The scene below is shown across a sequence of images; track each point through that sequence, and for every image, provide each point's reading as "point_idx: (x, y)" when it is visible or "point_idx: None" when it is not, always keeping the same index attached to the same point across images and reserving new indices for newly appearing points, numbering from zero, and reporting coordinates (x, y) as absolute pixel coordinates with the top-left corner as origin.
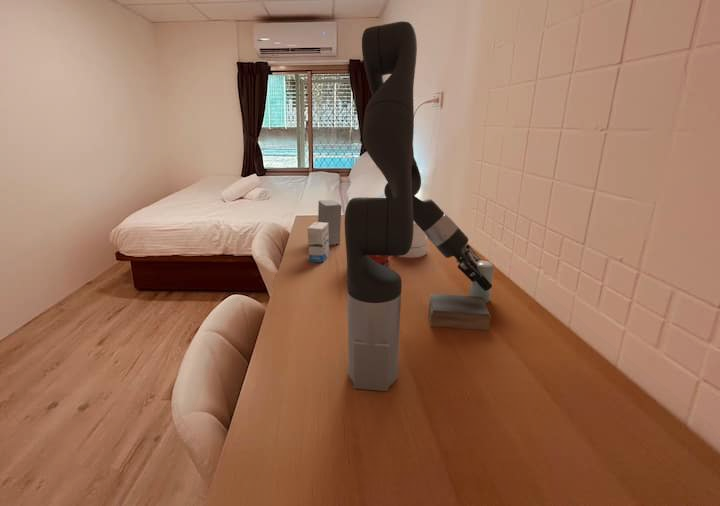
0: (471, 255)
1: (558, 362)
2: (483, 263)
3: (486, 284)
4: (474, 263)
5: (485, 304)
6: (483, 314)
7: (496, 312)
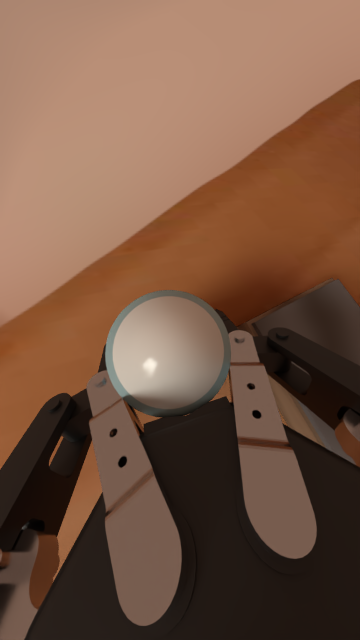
0: (274, 465)
1: (316, 184)
2: (163, 352)
3: (226, 318)
4: (269, 391)
5: (296, 301)
6: (345, 292)
7: (218, 299)
